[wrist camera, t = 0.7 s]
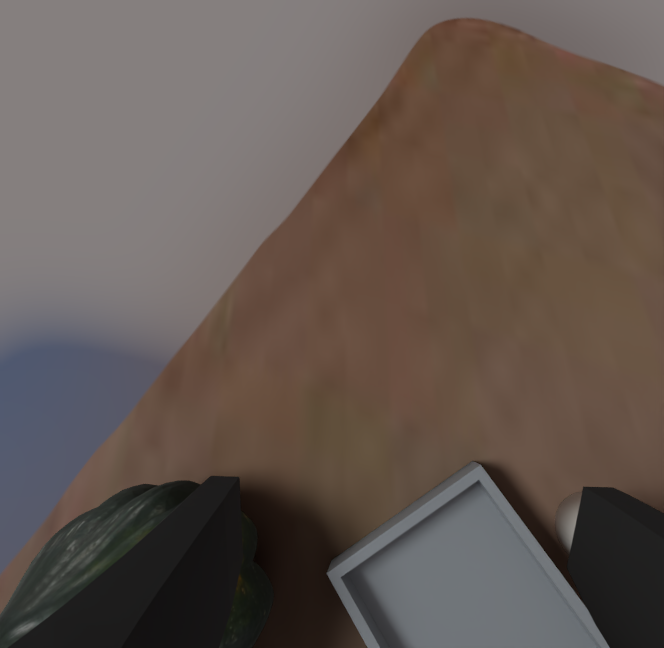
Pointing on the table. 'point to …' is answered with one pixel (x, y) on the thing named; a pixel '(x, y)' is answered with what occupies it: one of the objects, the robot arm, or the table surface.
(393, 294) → the table surface
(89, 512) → the squash
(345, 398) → the table surface
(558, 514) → the cup
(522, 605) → the tray
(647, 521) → the robot arm
